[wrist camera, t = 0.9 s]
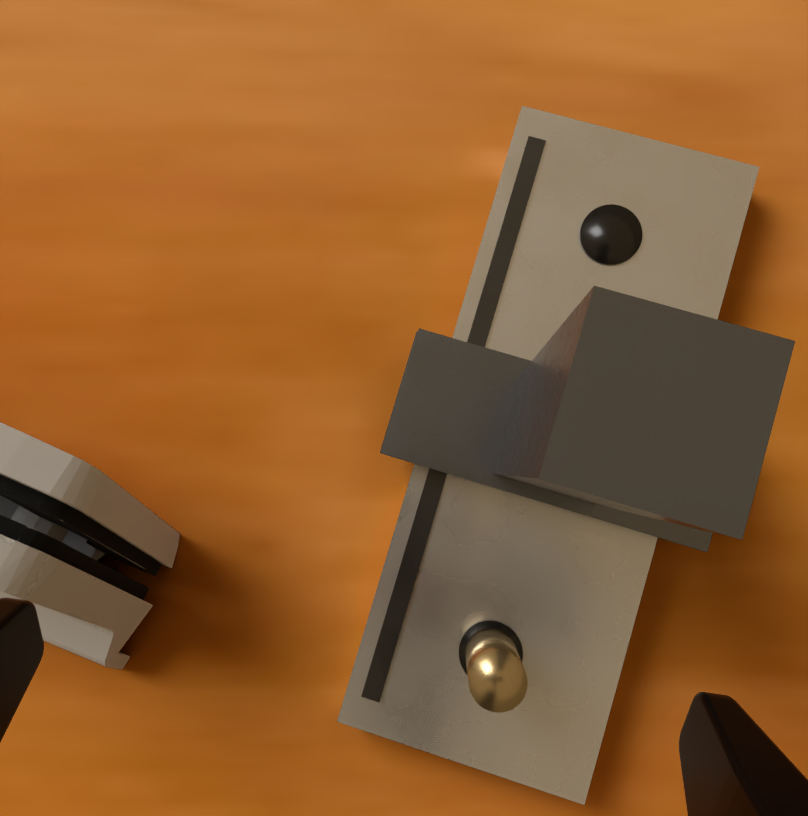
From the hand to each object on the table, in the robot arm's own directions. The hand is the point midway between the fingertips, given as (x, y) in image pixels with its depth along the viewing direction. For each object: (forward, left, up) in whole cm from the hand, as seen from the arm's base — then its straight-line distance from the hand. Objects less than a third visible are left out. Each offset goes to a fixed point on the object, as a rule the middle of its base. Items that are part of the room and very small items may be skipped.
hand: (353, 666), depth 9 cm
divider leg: (+2, -6, -14) cm, 16 cm away
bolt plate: (+2, -6, -14) cm, 16 cm away
